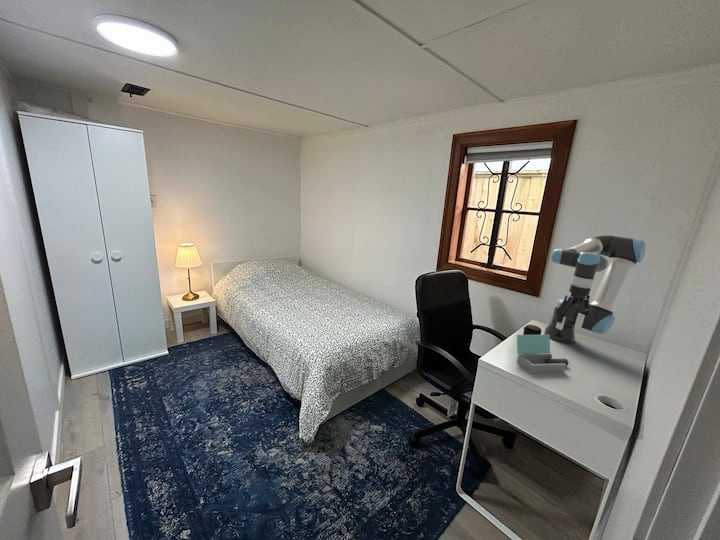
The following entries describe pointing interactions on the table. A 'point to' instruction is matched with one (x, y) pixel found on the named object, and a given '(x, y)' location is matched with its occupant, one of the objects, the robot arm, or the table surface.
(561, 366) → the grey flat bent block
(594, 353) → the table surface
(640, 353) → the table surface
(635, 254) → the robot arm
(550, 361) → the cylinder
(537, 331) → the coffee cup
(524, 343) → the cover
